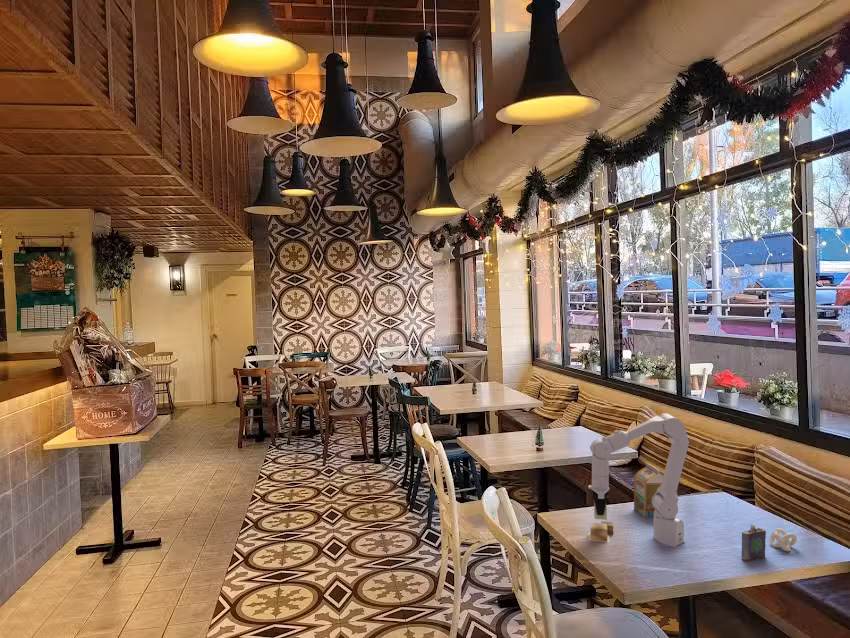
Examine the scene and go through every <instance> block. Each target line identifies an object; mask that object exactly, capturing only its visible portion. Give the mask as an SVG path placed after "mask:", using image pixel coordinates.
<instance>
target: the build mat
mask: <svg viewBox="0 0 850 638" xmlns="http://www.w3.org/2000/svg"><path fill="white" fill-rule="evenodd" d="M587 534H588V537H587V538H588V541H590V542H591V541H592V542H602V543H610V536H609V535H610V534H607V541H600V540H591V535H590V532H588V533H587Z"/></svg>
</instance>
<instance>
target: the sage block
mask: <svg viewBox="0 0 850 638" xmlns="http://www.w3.org/2000/svg"><path fill="white" fill-rule="evenodd" d="M593 502H594V501H593ZM607 505H608V504H606V506H605V512H604V515H603V516H602V515H597V512H596V505H595V502H594V503H593V507H594V508H593V509H594V510H593V516H594V519H595V520H602V521H603V520H604V521H607V516H608V514H607V510H608V509H607V508H608V506H607Z"/></svg>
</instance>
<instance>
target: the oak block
mask: <svg viewBox="0 0 850 638" xmlns="http://www.w3.org/2000/svg"><path fill="white" fill-rule="evenodd" d="M589 525H590V532H589V533H590V535H591V540H600V541H607V524H601V522H600V523H598V522H590V523H589ZM600 541H599V542H600Z"/></svg>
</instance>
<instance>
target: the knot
mask: <svg viewBox="0 0 850 638" xmlns="http://www.w3.org/2000/svg"><path fill="white" fill-rule="evenodd" d="M780 534H782V536H781V535H780ZM790 538H791V539H790ZM768 539H769V544H770V546H772V548H779V547H780V548H781V549H782V550H783V551H784V552H790V550H791V547H792V546H794V545H795V544H796V543H797V541H798V538H797V535H796V534H794V533H791V532H789V533H788V532H787V531H786V530H785V529H783V528H779V527H778V528H774V530H773V531H772V532H771V534H770V535H769V538H768ZM775 540H776V542H775Z"/></svg>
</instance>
